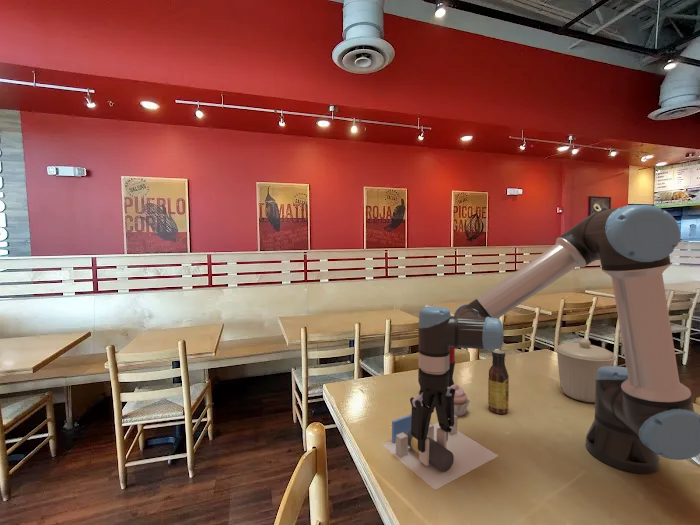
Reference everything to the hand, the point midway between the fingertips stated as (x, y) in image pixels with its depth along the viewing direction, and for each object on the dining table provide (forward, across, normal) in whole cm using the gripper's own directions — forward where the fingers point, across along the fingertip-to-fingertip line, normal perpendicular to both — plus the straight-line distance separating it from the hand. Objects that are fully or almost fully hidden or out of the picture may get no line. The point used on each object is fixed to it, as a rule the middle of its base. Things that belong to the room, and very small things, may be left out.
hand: (432, 458), depth 86 cm
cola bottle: (+2, -32, -26) cm, 41 cm away
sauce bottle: (+2, -39, -8) cm, 40 cm away
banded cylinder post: (+1, 0, -2) cm, 2 cm away
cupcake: (+2, -25, -14) cm, 29 cm away
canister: (+2, -74, +2) cm, 74 cm away
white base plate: (+2, -5, -2) cm, 6 cm away
